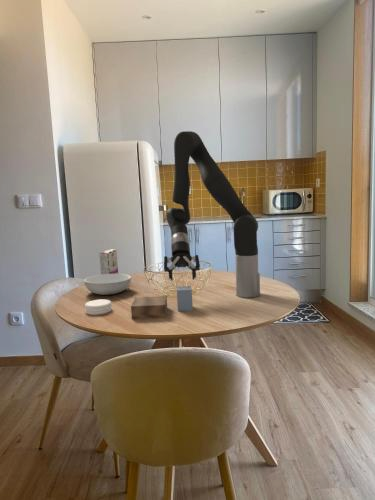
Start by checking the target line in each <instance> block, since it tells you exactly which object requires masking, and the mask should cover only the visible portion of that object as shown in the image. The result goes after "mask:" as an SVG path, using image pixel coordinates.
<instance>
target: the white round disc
mask: <svg viewBox="0 0 375 500" xmlns="http://www.w3.org/2000/svg"><path fill="white" fill-rule="evenodd" d="M84 306H85V308H84V309H85V310H84V311H85V313H86V314H87V315H91V316H92V315H94V316H95V315H96V316H97V315H98V316H99V315H104V314H107V313H110V312H111V311H112V310H113V308H112V301H111V300H110V299H105V298H104V299H103V298H102V299H94V300H90V301H87V302H86V303H85V304H84Z"/></svg>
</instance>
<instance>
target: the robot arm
mask: <svg viewBox="0 0 375 500" xmlns="http://www.w3.org/2000/svg"><path fill="white" fill-rule="evenodd" d="M173 153H174V154H173V155H174V179H173V180H174V182H173V189H172V190H173V191H172V202H173V203H175V204H178V205H180V206H182V208H179V207H170V208H169V209H167V211H166V214H165V218H166V221H167V224H168V226H169V229H170V237H171V239H170V241H171V242H170V244H171V245H170V248H171V257H168V256H167V255H166V256H164V258H163V259H164V260H163V271H164V272H166V273H167V272H168V279H169V280H170V281H173V280H174V279H173V271H174V270H176V269H177V268H178V269H179V268H188V269H189V270H191V274H192V275H191V276H192V277H191V278H192V280H195V279H196V277H197V271H200V270H201V269H200V268H201V266H200V265H201V264H200V259H199V255H198V254H195V256H192V255H191V251H190V250H191V249H190V240H189V234H188V233H189V231H188V227H187V225H188V223H190V221H191V211H190V206H189V205H190V204H189V198H190V191H191V179H190V173H189V163H190V158H191V159H192V161H193V162H194V163H195V165H196V166H197V168H198V171H199V174H200V177H201V178H200V179H201V180H202V184H203V185H204V188H206V190H207V191H208V193H209V194H210V196H211V197H212V198H213V199H214V201H216V203H217V204H218V205H219V206H221V207H222V208H223V209H224V210H225V212H227V214H228V215H229V217H230V218H231V221H232V222H233V244H234V245H233V246H234V252H235V253H234V254H235V257H234V258H235V287H236V288H235V290H236V292H235V293H236V296H237V297H238V298H239V297H240V298H245V299H246V298H255V297H259V296H261V284H260V283H261V281H260V280H261V277H260V272H259V248H258V236H257V235H258V233H257V232H258V229H259V223H258V220H257V218H255V217H254V215H253V214H252V213H251V212H250V211H249V209H248V208H247V207H246V206H245V205H244V204H243V202H242V201H241V199H240V197H239V195H238V193H237V192H236V191H235V188H234V187H233V186H232V184H231V182H230V181H229V179H228V178H227V176H226V175H225V174H224V172H223V171H222V170H221V168H220V166H219V165H218V163H216V161H215V160H214V159H213V157H212V156H211V155H210V153H209V151H208V149H207V147H206V146H205V144H204V142H203V140H202V138H201V136H200V135H199V134H198V133H197V132H195V131H189V130H188V131H183V130H182V131H179V132H178V133H177V134H176V135H175V137H174V140H173ZM192 260H193V262H194V263H195V264H194V263H193V262H192ZM170 262H171V265H169V267H168V264H169V263H170Z"/></svg>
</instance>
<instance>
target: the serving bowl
mask: <svg viewBox="0 0 375 500" xmlns="http://www.w3.org/2000/svg"><path fill="white" fill-rule="evenodd" d="M131 281H132V276H131V275H129V274H126V273H118V274H102V275H101V274H96V275H92V276H88V277H86V278H84V280H83V283H84V286H85V288H86V289H87V290H88V291H89V292H90V293H93V294H97V295H100V296H101V295H102V296H110V295H115V294H118V293H121V292H123V291H126V290H127V289H128V288H129V286H130V285H131Z"/></svg>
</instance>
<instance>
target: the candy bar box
mask: <svg viewBox="0 0 375 500" xmlns="http://www.w3.org/2000/svg"><path fill="white" fill-rule="evenodd" d="M117 252H118V251H117V249H116V248H115V249H114V248H113V249H110V248H109V249H107V250H104V251H101V252H99V253H98V254H99V256H98V257H99V265H100V275H102V274H119V265H118V253H117Z"/></svg>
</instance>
